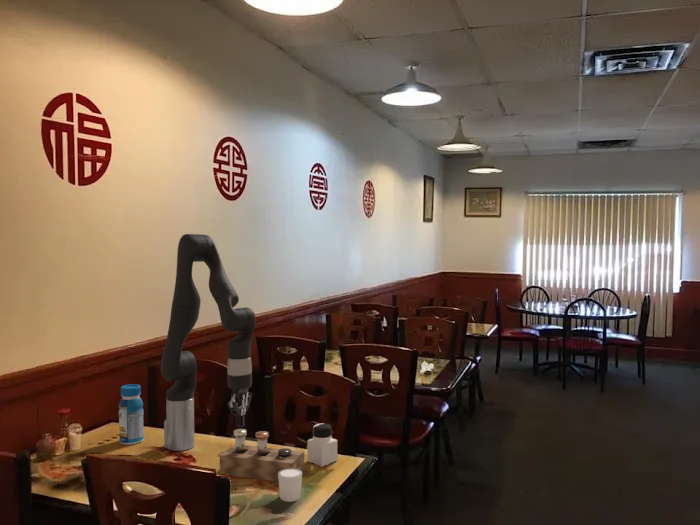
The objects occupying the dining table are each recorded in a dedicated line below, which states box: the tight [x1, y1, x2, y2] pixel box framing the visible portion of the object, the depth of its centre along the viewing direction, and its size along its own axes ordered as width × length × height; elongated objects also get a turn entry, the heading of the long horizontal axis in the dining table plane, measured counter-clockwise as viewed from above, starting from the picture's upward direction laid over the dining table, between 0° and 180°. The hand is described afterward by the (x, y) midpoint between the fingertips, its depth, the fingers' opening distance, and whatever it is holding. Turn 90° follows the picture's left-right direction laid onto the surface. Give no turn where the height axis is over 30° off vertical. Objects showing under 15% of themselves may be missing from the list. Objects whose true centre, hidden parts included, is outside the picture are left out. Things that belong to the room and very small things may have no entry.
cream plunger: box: [233, 428, 248, 454], centre depth 187 cm, size 4×4×7 cm
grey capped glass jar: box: [278, 447, 292, 459], centre depth 183 cm, size 4×4×7 cm
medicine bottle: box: [306, 423, 338, 468], centre depth 194 cm, size 7×7×12 cm
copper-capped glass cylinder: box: [255, 430, 270, 456], centre depth 185 cm, size 4×4×7 cm
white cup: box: [278, 469, 303, 503], centre depth 167 cm, size 7×7×7 cm
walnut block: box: [219, 444, 305, 483], centre depth 185 cm, size 24×10×6 cm, turn 74°
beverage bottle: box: [118, 383, 145, 446], centre depth 213 cm, size 8×8×20 cm
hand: (240, 426), depth 186 cm, fingers closed
